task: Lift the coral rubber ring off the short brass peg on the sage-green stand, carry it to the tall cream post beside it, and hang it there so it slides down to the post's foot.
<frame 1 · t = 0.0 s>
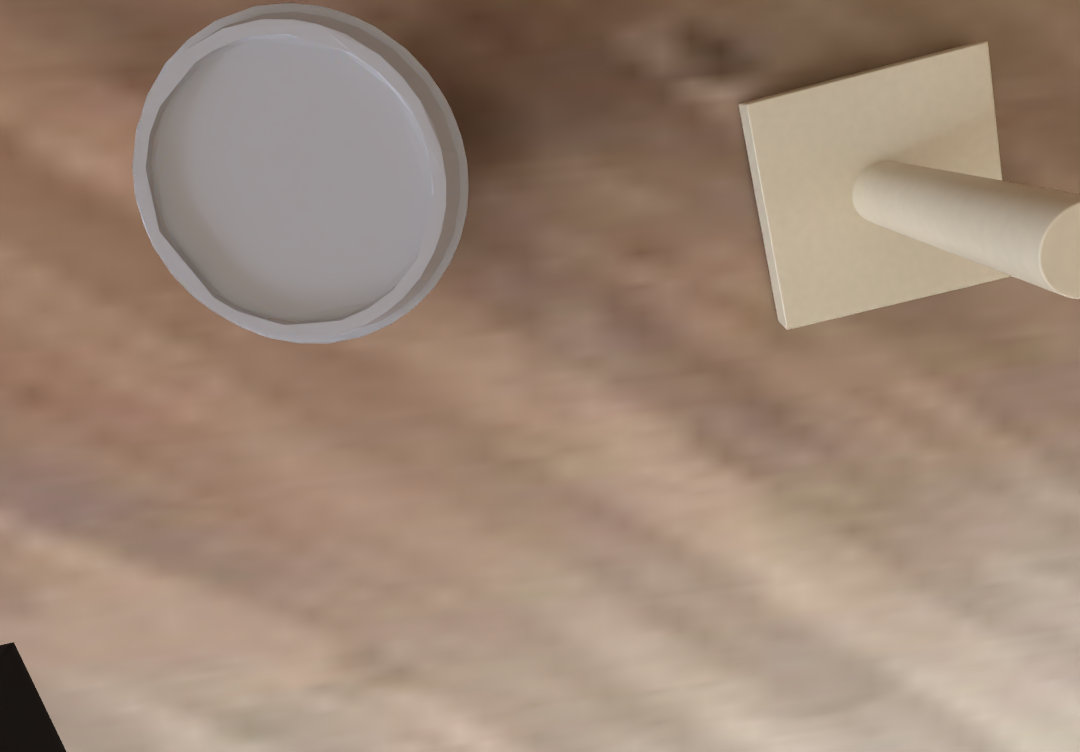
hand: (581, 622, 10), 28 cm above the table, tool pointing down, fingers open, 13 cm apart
disposable coffee cup: (372, 158, 36), on the table
tall post: (869, 188, 36), on the table
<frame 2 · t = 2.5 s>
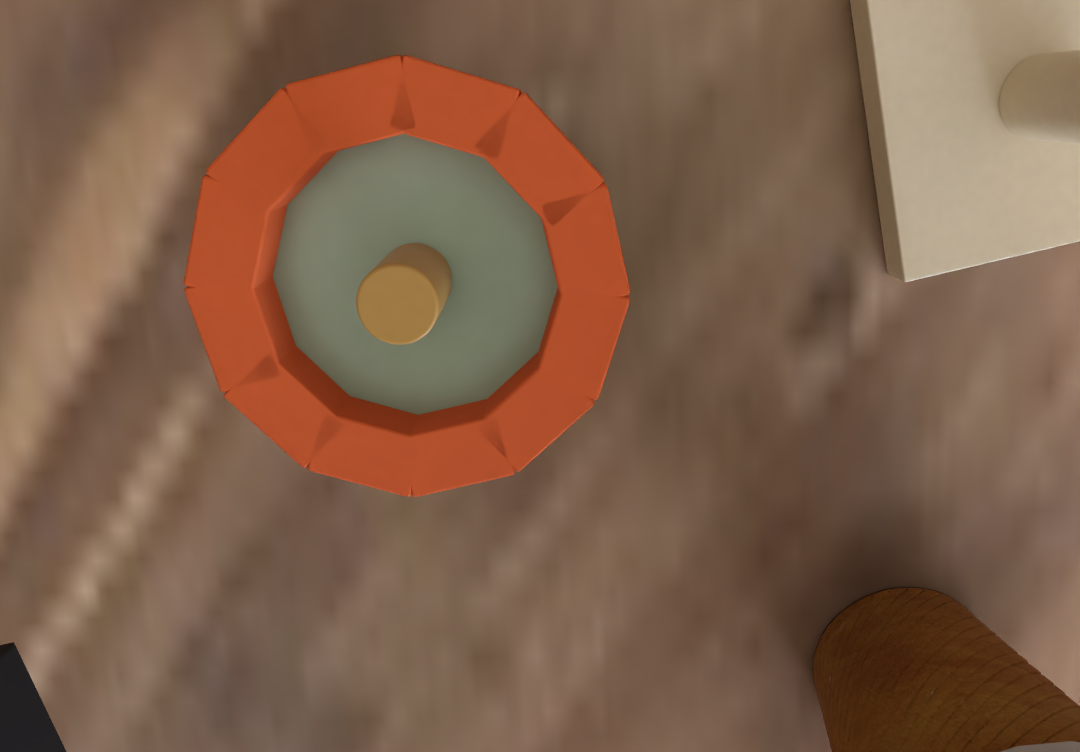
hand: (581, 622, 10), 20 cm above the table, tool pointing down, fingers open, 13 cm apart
low stand: (446, 238, 29), on the table
ring: (416, 279, 22), point 7 cm above the table, touching low stand
disposable coffee cup: (896, 659, 34), on the table
tall post: (1014, 97, 28), on the table
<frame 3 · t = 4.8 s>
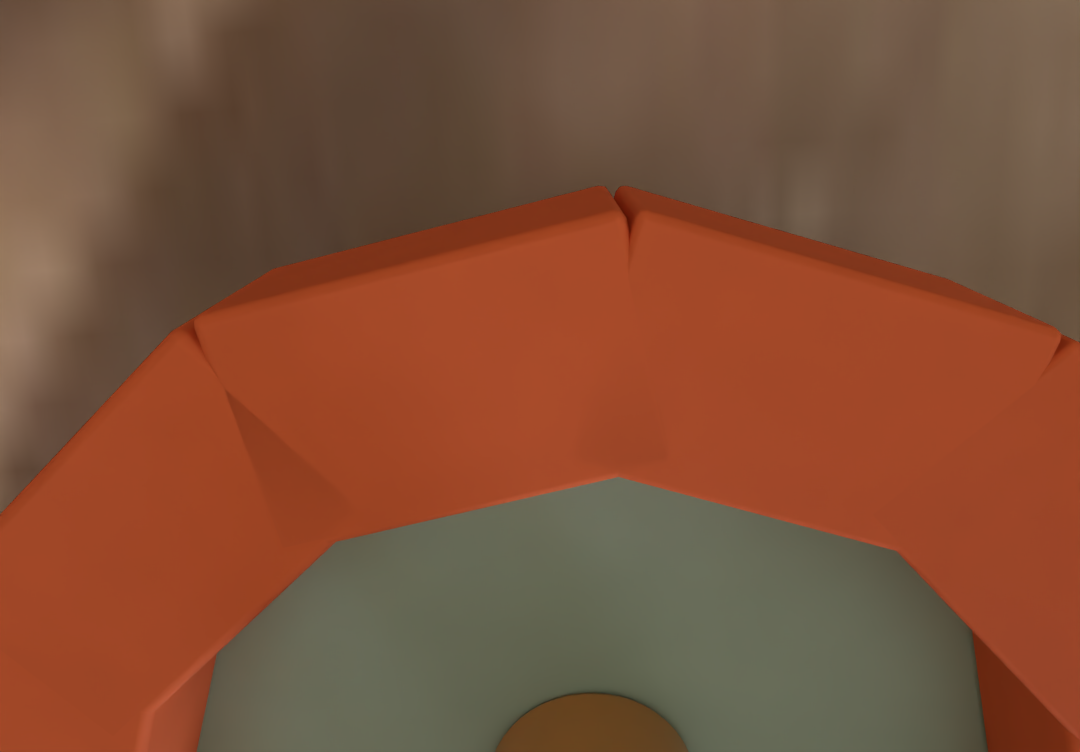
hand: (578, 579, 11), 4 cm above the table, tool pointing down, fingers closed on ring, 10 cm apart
low stand: (571, 469, 15), on the table
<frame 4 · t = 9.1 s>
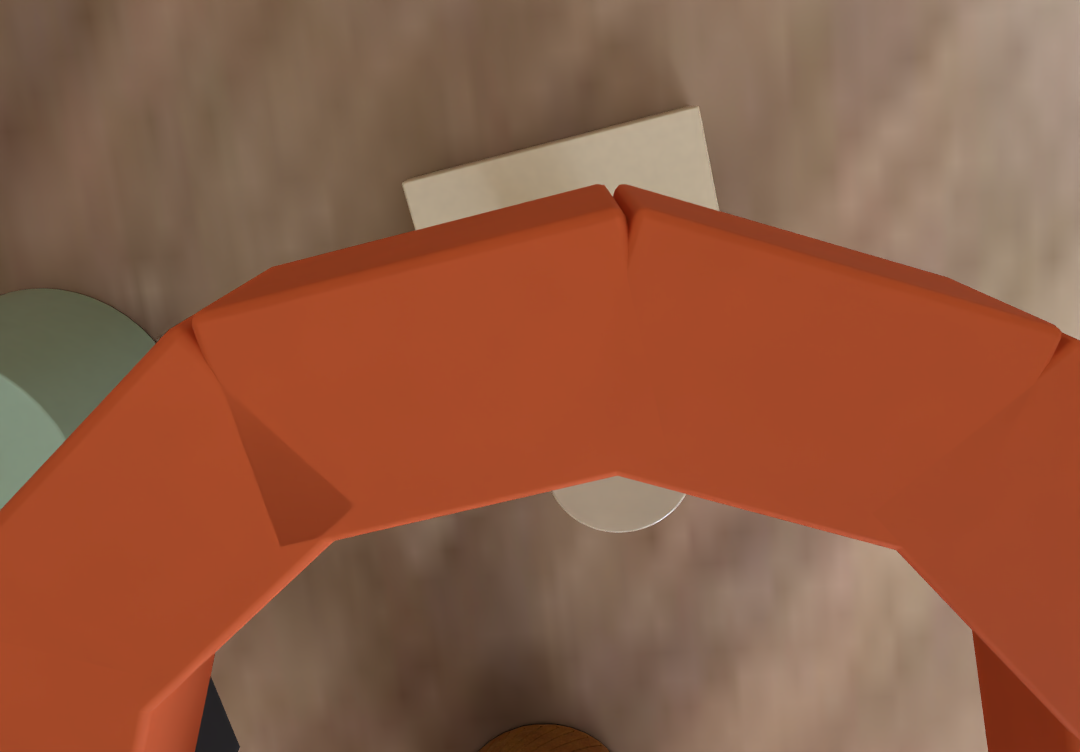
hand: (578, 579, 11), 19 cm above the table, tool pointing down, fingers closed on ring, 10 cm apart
low stand: (62, 410, 31), on the table
tall post: (581, 282, 29), on the table
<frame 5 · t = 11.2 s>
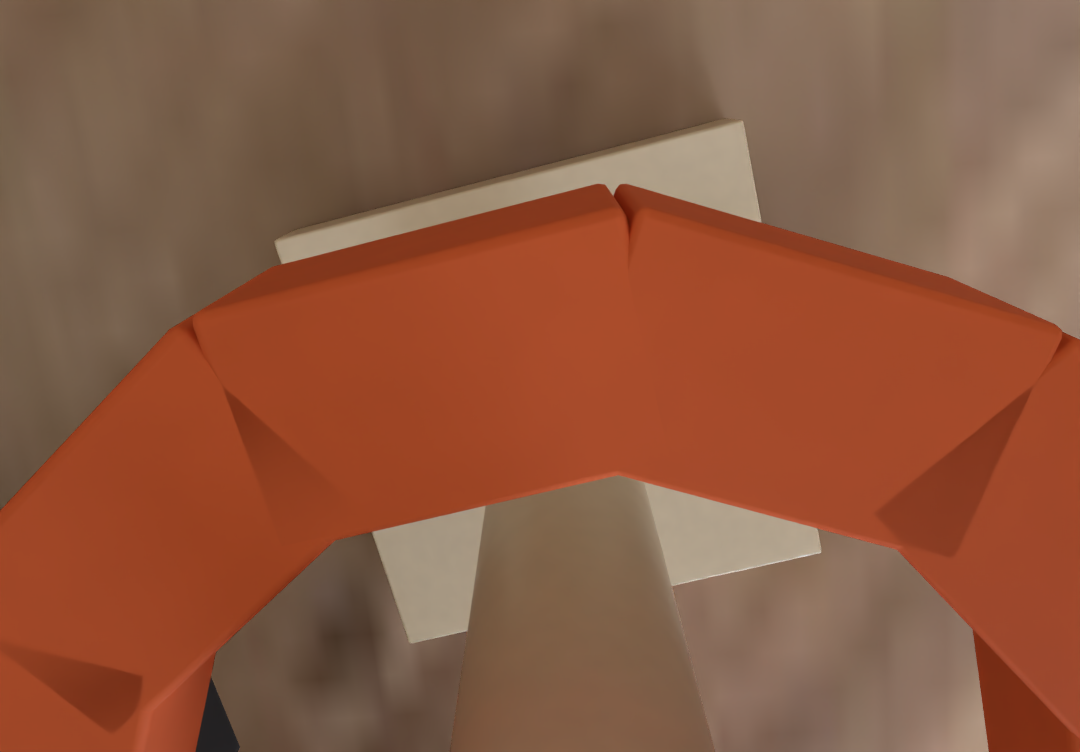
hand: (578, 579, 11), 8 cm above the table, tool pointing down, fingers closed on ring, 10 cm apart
tall post: (560, 382, 20), on the table
when the fingers open (3 cm above the table, at t = 13.3 s): ring drops 5 cm, resting on tall post.
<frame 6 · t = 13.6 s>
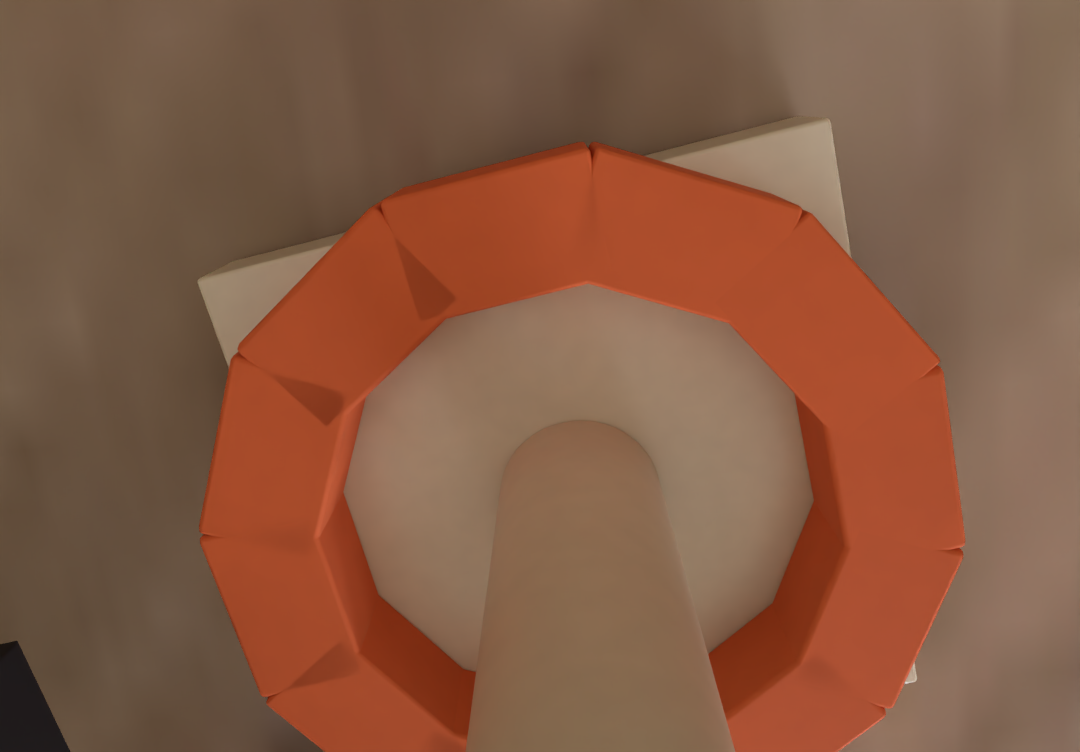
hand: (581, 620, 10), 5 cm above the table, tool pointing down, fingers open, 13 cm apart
ring: (577, 494, 14), point 1 cm above the table, touching tall post
tall post: (577, 456, 15), on the table
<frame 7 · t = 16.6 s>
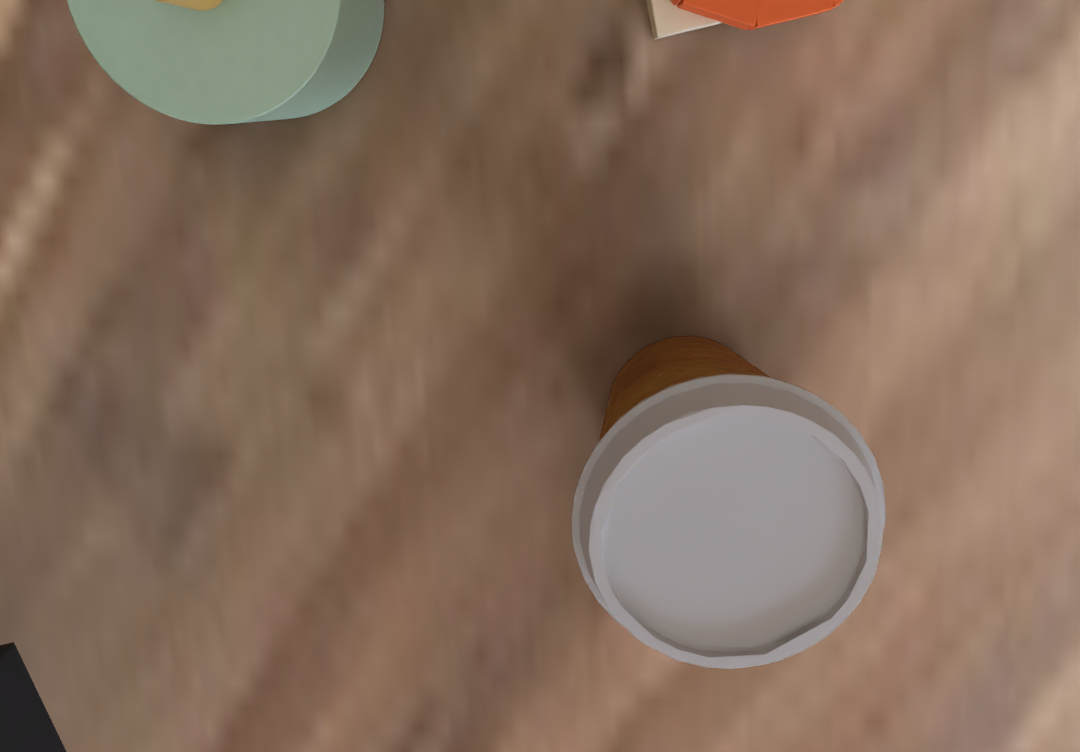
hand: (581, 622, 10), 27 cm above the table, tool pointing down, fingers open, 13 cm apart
low stand: (272, 1, 34), on the table
disposable coffee cup: (682, 406, 38), on the table
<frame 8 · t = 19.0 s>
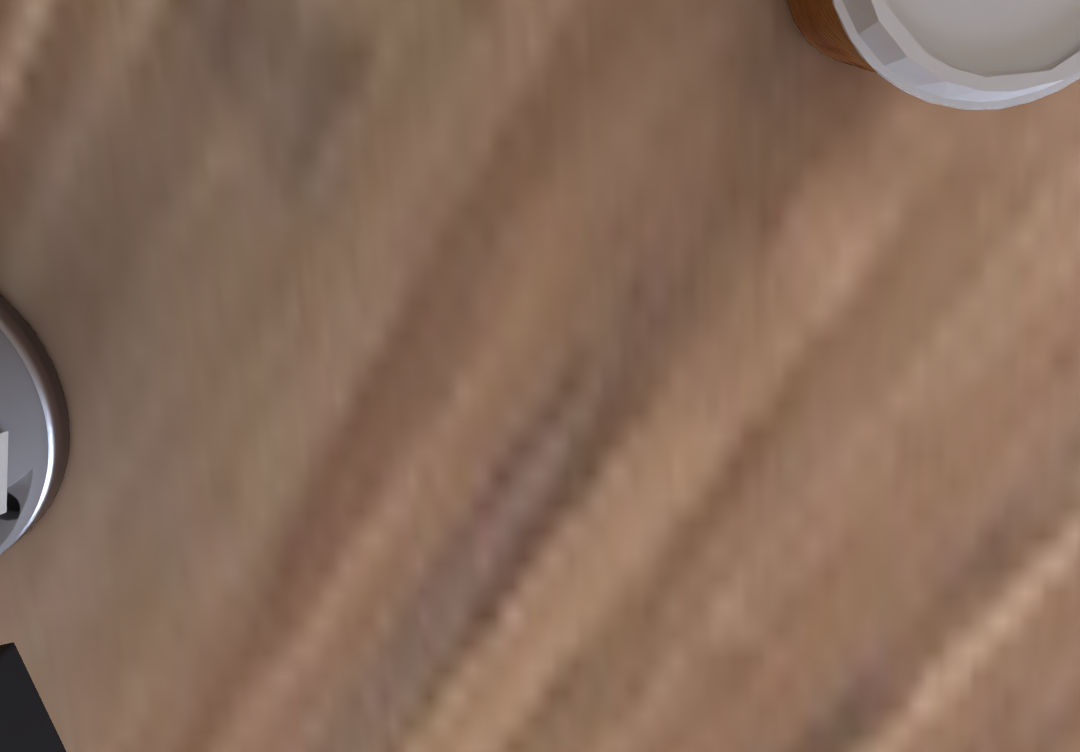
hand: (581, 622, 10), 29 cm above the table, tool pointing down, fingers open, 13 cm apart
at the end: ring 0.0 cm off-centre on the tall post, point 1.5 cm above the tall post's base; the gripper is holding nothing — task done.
